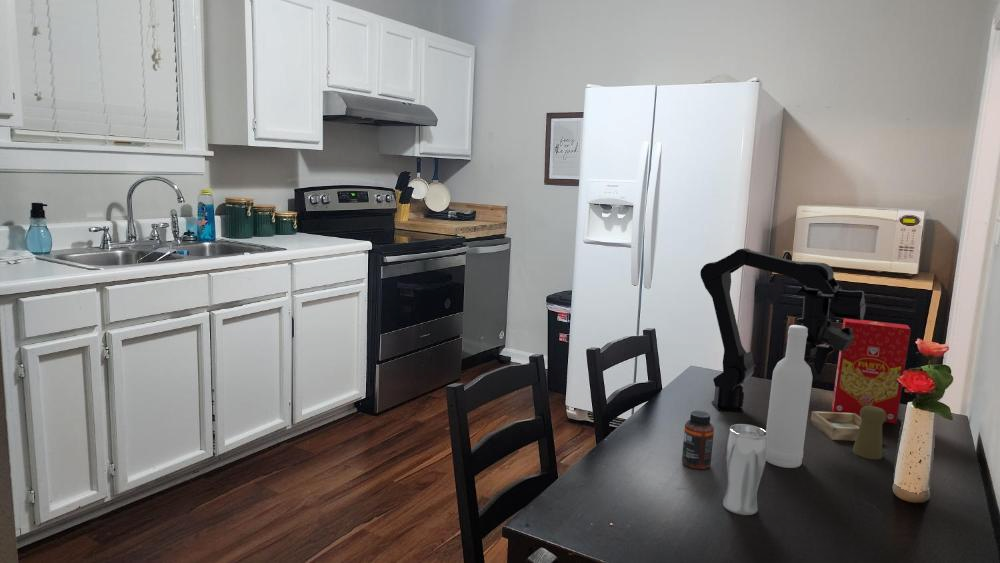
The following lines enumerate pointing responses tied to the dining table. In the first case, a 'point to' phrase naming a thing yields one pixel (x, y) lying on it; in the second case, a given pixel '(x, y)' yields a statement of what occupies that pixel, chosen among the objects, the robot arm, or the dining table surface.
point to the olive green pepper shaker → (870, 433)
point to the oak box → (837, 424)
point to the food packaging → (871, 368)
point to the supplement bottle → (698, 441)
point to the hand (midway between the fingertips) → (810, 377)
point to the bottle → (789, 403)
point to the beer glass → (744, 467)
